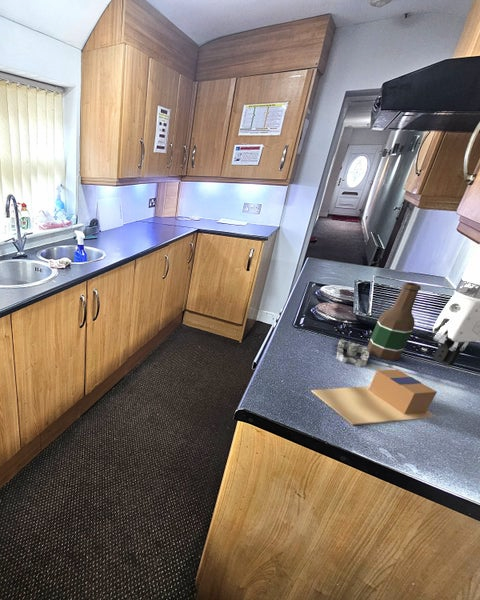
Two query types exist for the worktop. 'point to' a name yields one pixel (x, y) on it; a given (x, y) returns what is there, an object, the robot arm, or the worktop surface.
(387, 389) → the box
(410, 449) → the worktop surface
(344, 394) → the board
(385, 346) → the beer bottle
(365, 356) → the egg carton
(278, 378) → the worktop surface
